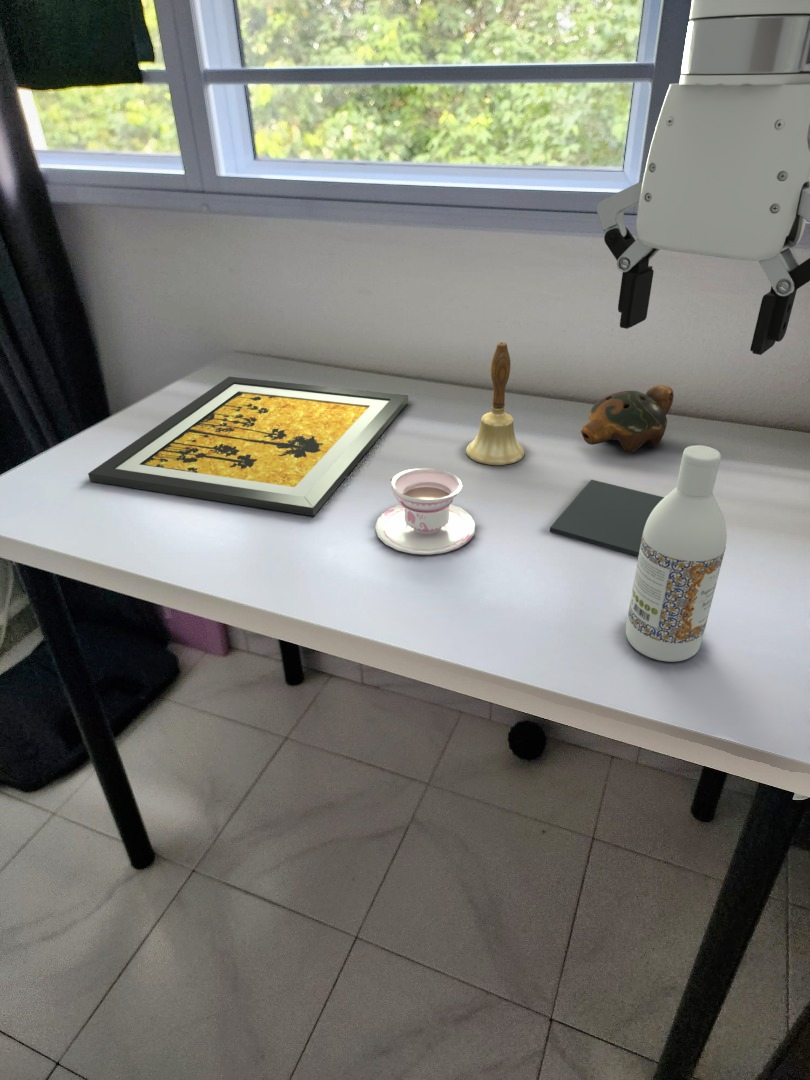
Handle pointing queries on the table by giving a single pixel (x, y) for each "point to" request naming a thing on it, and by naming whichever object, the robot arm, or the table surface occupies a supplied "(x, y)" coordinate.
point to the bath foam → (679, 563)
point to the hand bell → (497, 420)
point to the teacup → (425, 513)
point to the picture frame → (257, 444)
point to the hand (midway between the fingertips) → (694, 336)
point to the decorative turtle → (630, 418)
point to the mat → (607, 516)
